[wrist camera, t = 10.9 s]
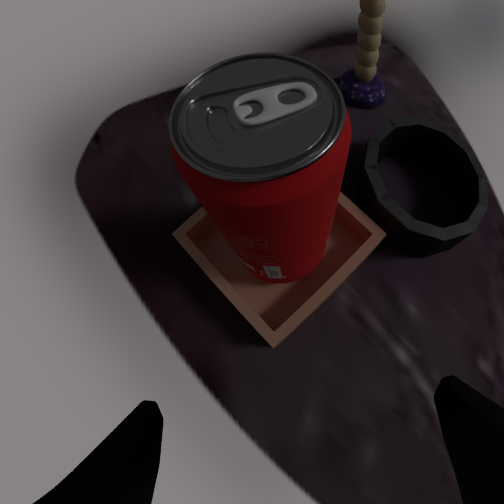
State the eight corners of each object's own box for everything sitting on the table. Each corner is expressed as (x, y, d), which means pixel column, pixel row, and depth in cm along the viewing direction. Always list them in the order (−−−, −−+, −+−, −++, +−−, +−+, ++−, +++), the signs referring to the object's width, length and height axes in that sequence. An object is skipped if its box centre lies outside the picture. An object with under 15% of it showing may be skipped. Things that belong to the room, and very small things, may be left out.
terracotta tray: (376, 247, 18) (387, 234, 16) (276, 347, 18) (273, 348, 15) (281, 162, 21) (278, 141, 19) (186, 246, 20) (171, 233, 18)
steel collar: (481, 201, 18) (503, 179, 15) (424, 282, 17) (448, 269, 14) (400, 128, 21) (411, 99, 17) (331, 193, 20) (336, 166, 17)
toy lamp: (325, 76, 23) (321, -102, 7) (370, 68, 23) (387, -95, 7) (350, 113, 22) (368, -91, 6) (398, 103, 21) (439, -77, 6)
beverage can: (229, 222, 20) (150, 83, 8) (305, 194, 19) (304, 34, 8) (254, 299, 18) (179, 223, 7) (337, 268, 18) (393, 150, 6)
